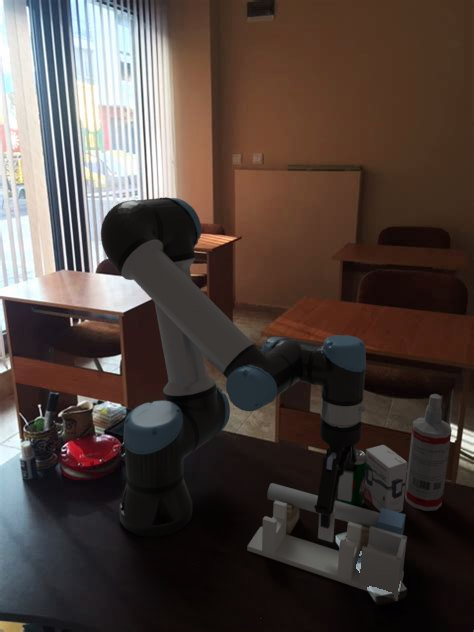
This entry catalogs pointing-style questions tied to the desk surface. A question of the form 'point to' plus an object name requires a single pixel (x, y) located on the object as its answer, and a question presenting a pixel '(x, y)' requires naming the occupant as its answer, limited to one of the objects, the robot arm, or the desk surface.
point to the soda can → (358, 480)
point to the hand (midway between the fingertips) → (335, 518)
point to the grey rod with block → (340, 509)
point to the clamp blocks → (294, 516)
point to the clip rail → (336, 553)
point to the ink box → (385, 478)
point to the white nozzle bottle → (428, 458)
